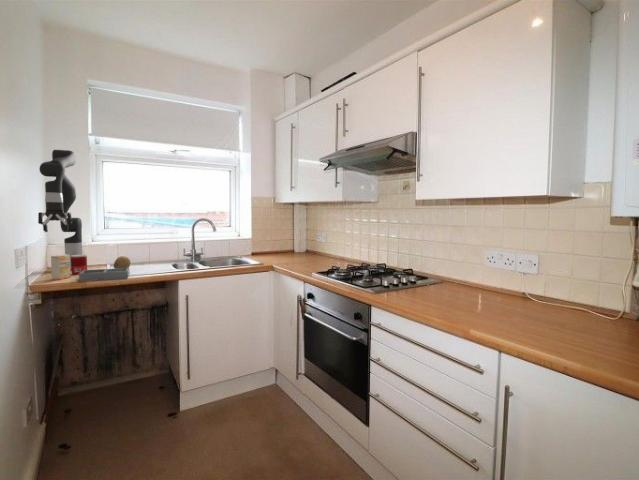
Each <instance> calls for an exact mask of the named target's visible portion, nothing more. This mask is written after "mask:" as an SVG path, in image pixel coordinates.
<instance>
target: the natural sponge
mask: <svg viewBox="0 0 639 480" xmlns="http://www.w3.org/2000/svg"><path fill="white" fill-rule="evenodd" d="M130 266H131V260H130V258H128V257H127V256H119V257H117V258H116V259H115V261H114V263H113V269H115V268H129V269H130Z"/></svg>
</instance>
